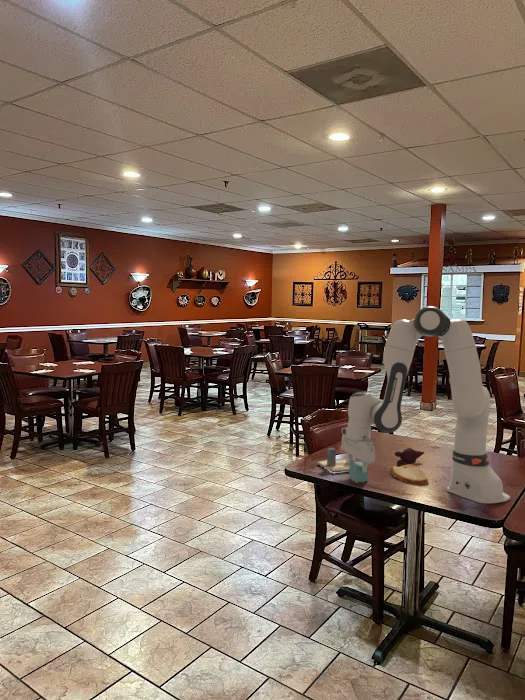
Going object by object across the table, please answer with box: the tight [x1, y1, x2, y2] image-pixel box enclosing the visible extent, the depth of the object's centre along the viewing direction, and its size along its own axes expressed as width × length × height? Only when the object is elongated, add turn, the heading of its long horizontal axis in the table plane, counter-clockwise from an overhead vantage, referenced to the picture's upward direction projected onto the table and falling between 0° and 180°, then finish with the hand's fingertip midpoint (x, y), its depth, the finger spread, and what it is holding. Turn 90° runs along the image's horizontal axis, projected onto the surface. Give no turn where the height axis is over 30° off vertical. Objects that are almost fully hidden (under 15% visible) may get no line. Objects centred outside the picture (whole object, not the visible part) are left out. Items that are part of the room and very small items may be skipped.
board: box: [316, 458, 350, 472], centre depth 229 cm, size 14×15×2 cm
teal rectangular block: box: [348, 461, 369, 483], centre depth 212 cm, size 5×5×7 cm
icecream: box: [394, 447, 425, 466], centre depth 237 cm, size 7×7×15 cm
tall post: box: [326, 447, 337, 466], centre depth 227 cm, size 3×3×7 cm
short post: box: [345, 452, 356, 464], centre depth 230 cm, size 3×3×4 cm
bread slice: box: [389, 463, 430, 486], centre depth 218 cm, size 18×18×4 cm
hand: (357, 468), depth 213 cm, fingers open, 8 cm apart
